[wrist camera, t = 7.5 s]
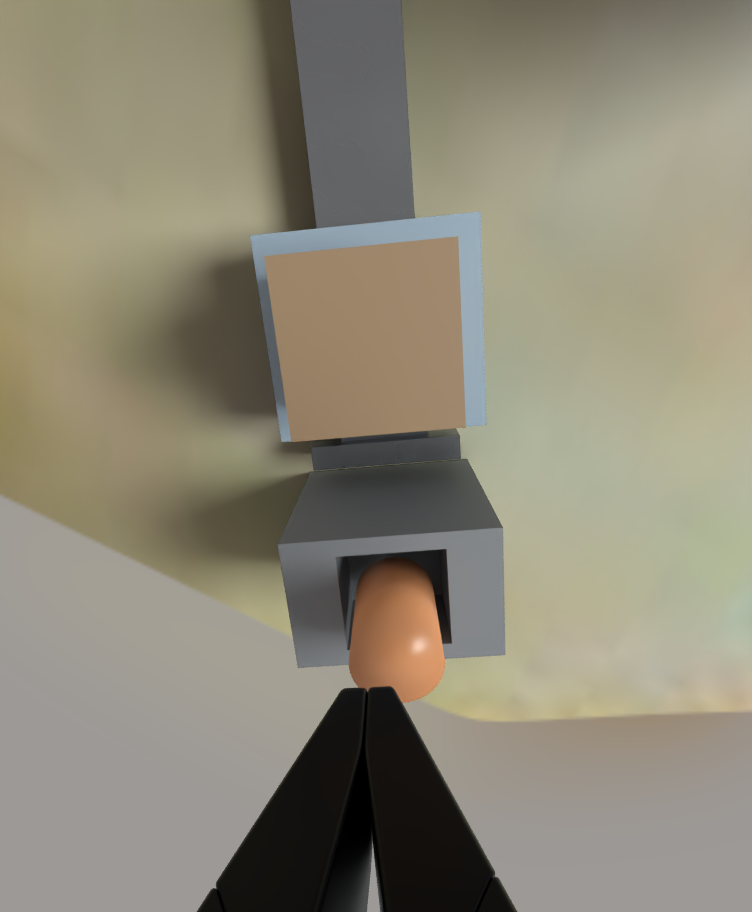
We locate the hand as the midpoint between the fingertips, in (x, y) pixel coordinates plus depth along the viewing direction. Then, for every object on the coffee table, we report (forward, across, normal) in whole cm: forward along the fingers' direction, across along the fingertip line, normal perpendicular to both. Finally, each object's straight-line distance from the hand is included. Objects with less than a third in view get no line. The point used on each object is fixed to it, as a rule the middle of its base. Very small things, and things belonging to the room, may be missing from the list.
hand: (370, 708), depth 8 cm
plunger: (+6, 0, +2) cm, 6 cm away
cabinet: (+11, 0, +2) cm, 12 cm away
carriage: (+11, 0, -6) cm, 13 cm away
